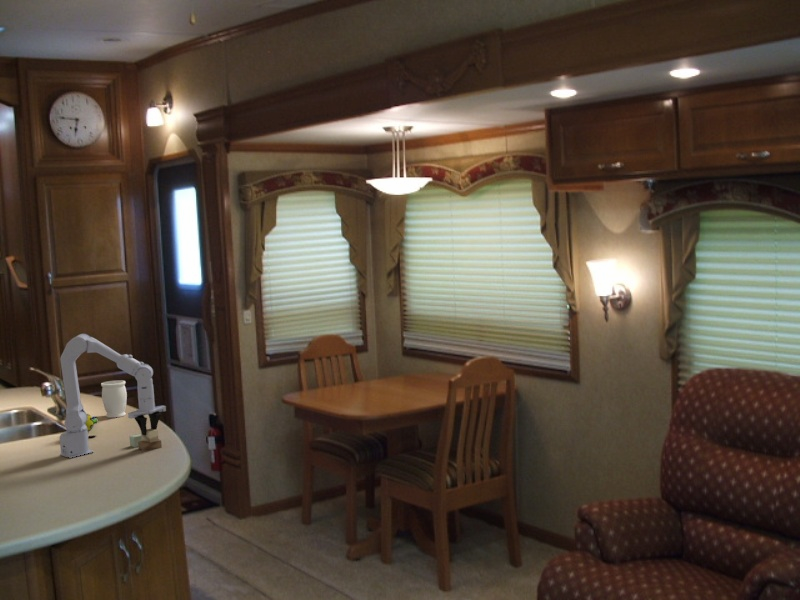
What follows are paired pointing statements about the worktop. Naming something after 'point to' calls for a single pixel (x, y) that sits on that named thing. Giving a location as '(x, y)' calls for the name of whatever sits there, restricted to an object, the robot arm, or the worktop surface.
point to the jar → (114, 398)
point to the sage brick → (135, 440)
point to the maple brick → (150, 435)
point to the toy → (90, 422)
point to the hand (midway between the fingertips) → (149, 433)
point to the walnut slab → (149, 445)
